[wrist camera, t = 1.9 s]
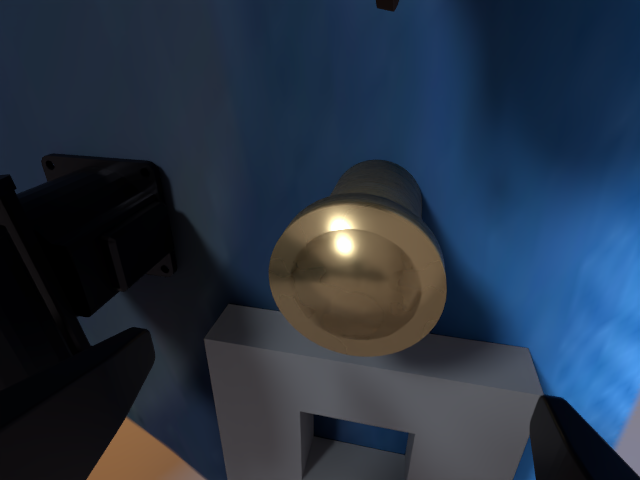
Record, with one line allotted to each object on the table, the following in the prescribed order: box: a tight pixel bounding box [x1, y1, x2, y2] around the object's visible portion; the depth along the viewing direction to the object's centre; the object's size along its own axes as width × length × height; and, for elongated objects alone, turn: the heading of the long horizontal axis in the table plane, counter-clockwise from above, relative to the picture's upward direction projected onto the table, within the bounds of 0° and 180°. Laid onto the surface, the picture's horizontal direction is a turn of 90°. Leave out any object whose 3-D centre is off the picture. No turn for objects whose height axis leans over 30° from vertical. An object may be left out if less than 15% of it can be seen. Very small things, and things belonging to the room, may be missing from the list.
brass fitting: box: [269, 160, 447, 357], centre depth 15 cm, size 5×5×7 cm
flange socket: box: [204, 304, 544, 480], centre depth 23 cm, size 16×14×3 cm
